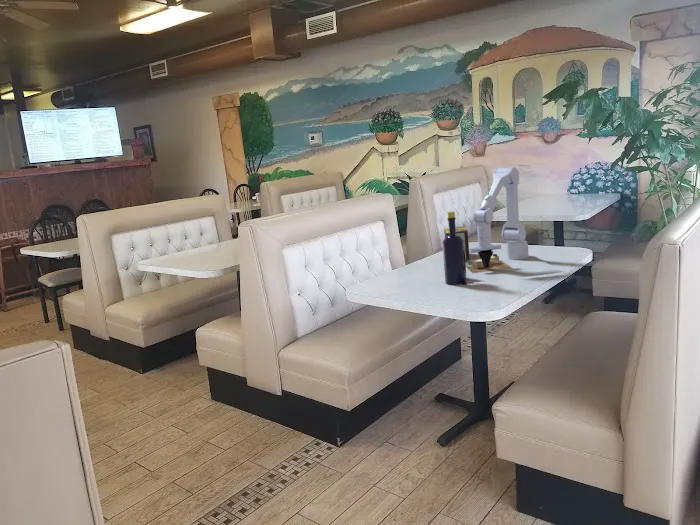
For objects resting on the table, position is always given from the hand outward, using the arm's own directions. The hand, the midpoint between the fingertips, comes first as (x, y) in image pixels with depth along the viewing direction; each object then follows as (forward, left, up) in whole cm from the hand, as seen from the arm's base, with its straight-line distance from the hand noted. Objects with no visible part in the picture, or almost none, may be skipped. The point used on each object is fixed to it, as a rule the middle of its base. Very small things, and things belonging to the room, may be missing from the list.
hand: (486, 267), depth 248 cm
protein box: (+6, -31, -2) cm, 32 cm away
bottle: (+16, +12, -2) cm, 20 cm away
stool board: (-2, -5, -2) cm, 6 cm away
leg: (-2, -7, -1) cm, 7 cm away
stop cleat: (+1, -13, -1) cm, 13 cm away
